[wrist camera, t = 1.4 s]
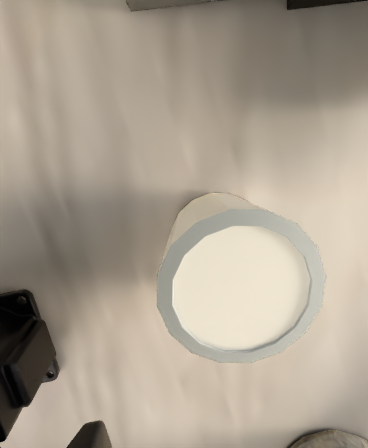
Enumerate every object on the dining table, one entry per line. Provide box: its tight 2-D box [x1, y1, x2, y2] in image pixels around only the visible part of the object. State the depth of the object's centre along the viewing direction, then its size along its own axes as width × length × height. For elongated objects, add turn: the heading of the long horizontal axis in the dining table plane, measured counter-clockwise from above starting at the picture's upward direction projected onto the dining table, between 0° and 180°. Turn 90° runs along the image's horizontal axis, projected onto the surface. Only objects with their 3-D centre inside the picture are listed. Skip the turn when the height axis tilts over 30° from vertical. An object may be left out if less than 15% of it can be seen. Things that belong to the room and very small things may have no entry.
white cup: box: [157, 193, 326, 363], centre depth 16 cm, size 7×7×7 cm
